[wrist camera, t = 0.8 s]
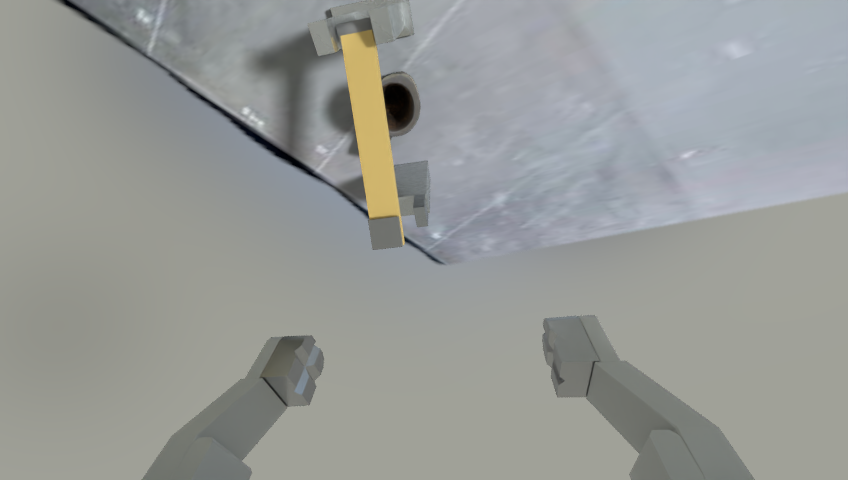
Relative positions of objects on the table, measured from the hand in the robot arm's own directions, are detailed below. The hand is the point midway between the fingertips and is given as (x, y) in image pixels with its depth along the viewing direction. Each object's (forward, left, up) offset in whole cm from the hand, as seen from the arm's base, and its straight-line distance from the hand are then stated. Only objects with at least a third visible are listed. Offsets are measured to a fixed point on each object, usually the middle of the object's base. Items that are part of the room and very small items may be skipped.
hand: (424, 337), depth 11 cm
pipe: (+2, -6, -39) cm, 39 cm away
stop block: (+12, -6, -38) cm, 41 cm away
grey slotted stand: (-8, -6, -38) cm, 39 cm away
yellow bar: (+1, -6, -23) cm, 24 cm away
